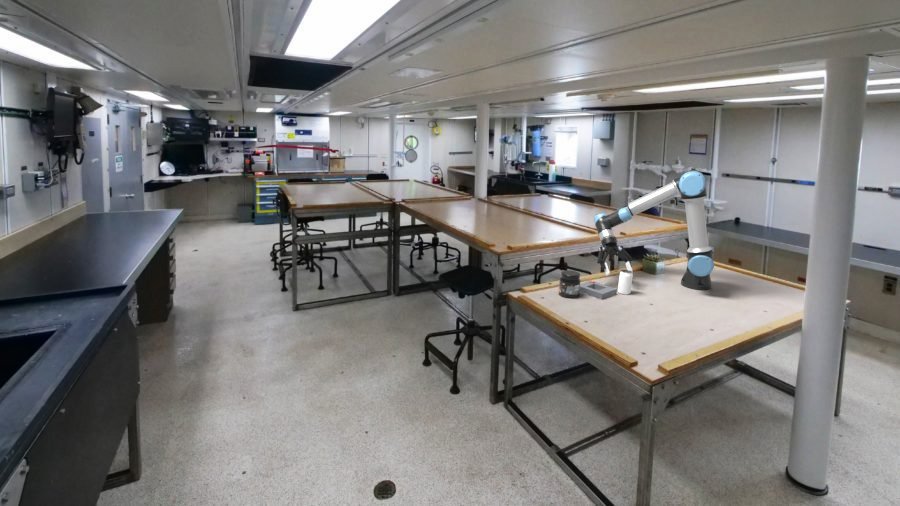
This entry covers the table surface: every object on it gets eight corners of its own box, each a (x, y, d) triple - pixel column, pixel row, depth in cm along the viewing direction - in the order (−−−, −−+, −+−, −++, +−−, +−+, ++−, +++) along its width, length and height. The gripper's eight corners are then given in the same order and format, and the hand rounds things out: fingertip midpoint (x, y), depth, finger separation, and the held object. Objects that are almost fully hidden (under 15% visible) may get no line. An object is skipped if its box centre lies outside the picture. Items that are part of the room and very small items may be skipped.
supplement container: (559, 290, 247) (561, 268, 244) (579, 293, 244) (582, 271, 240) (556, 296, 237) (558, 274, 234) (578, 299, 234) (580, 277, 231)
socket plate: (616, 294, 243) (617, 287, 242) (601, 299, 235) (602, 292, 234) (590, 285, 255) (591, 279, 254) (575, 290, 247) (576, 283, 246)
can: (617, 293, 244) (619, 272, 240) (617, 289, 250) (620, 268, 246) (630, 295, 241) (633, 273, 238) (630, 291, 247) (633, 270, 244)
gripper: (624, 242, 263) (636, 275, 253) (584, 243, 257) (595, 278, 247) (631, 235, 256) (644, 269, 246) (590, 236, 251) (601, 271, 241)
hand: (619, 273), depth 247 cm, fingers open, 13 cm apart
